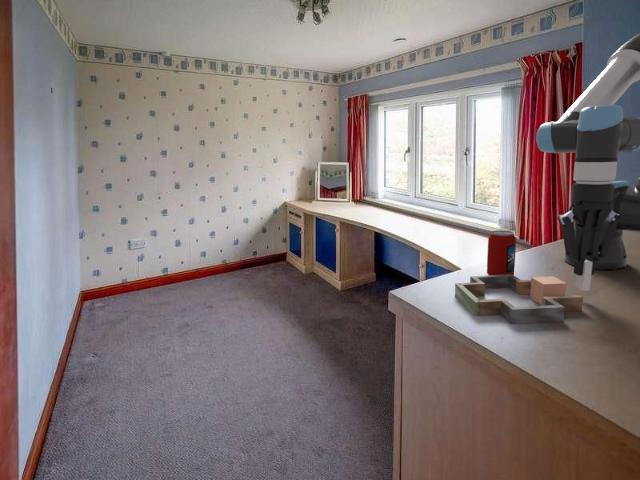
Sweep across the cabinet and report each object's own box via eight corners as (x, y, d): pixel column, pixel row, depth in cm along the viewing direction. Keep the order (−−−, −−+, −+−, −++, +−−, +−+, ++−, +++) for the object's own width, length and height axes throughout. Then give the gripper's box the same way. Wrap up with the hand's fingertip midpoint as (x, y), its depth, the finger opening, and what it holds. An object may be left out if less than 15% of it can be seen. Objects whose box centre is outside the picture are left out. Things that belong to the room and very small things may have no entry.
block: (551, 297, 97) (553, 276, 96) (564, 305, 92) (566, 283, 91) (529, 298, 97) (531, 277, 96) (541, 306, 92) (543, 284, 91)
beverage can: (516, 280, 109) (519, 235, 106) (489, 279, 110) (491, 235, 108) (510, 272, 116) (513, 229, 113) (484, 272, 117) (486, 229, 114)
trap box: (538, 284, 105) (539, 273, 105) (597, 319, 84) (598, 305, 83) (448, 288, 105) (448, 277, 104) (484, 325, 83) (485, 311, 83)
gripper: (611, 180, 93) (599, 282, 98) (552, 181, 93) (544, 284, 97) (637, 182, 85) (623, 293, 90) (573, 184, 85) (563, 295, 90)
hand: (582, 288), depth 94 cm, fingers closed
